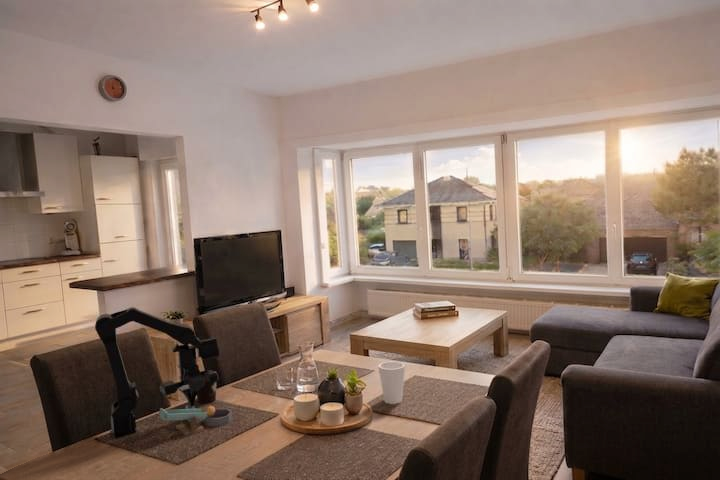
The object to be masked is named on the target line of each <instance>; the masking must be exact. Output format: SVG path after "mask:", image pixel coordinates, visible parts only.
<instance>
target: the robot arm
mask: <svg viewBox="0 0 720 480" xmlns="http://www.w3.org/2000/svg"><path fill="white" fill-rule="evenodd" d="M131 322H132V323H133V322H134V323H136V324H139V325H141V326H142V325H143V326H145V327H148V328H150V329H152V330H155V331H158V332H160V333H163V334H166V335H167V336H169V337H170V338H172V339H173V340H174V341H176V342H177V343H176V342H175V344H174V346H173V347H172V348H171V350H172V353H178V365H177V366H178V368H179V375H180V376H179V380H180V381H178V382H174V381H173V380H169V381H164V382H160V383H161V384H160V385H159V391H160V393H162V394H163V395H164V396H168V395H172V394H175V393H176V392H177V391H179V392H181V393H183V395H184V397H185V398H186V400H187V402H188V404H189V405H190V406H191V407H192V406H195V405H194V404H195V402H196V399H197V392H198V390H199V389H200V388H202V387H203V386H204V382H207V381H209V382H210V383H212V382H216V383H217V382H218V381H219V374H218V373H217V371H214V370H212V369H210V370H208V369H207V370H200V366H199V364H198V361H197V358H200V359H201V360H202V361H203V360H208V359H215V358H220V350H219V349H220V348H219V347H218V342H217V338H216V337H211V338H208V339H202V340H201V339H200V338H199V337H198V336H196V332H195V330H194V329H193V327H192V326H191V325H189V324H186V323H185V324H184V323H180V322H173V321H169V320H166V319H164V318H162V317H161V318H160V317H158V316H156V315H153V314H150V313H148V312H146V311H143V310H139V308H137V307H133V306H132V307H129V308H126V309H124V310H119V311H117V312H114V313H104V314H101V315H99V316H98V317H97V318H96V320H95V324H94V330H95V332H96V333H97V335H98V337H99V339H100V341H101V342H102V344H103V345H104V349H105V351H106V355H107V358H108V361H109V365H110V369H111V371H112V372H111V373H112V375H113V379H114V381H115V384H116V398H117V400H116V401H115V402H113V404H112V405H111V415H110V424H111V425H110V426H111V430H110V434H111V435H112V436H113V437H114V438H115V439H118V438H121V437H124V436H127V435H131V434H134V433H137V430H136V428H137V422H136V415H134V412H133V410H134V409H135V408H136V407H137V405H138V400H139V399H140V397H139V392H138V390H137V388H136V382H135V381H133V382H130V380H129V377H128V375H127V371H126V368H125V365H124V361H123V358H122V354H121V351H120V348H119V344H118V341H117V329H119V328H121V327H122V326H125V325H126V324H129V323H131ZM179 343H180V344H179Z"/></svg>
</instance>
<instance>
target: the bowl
mask: <svg viewBox="0 0 720 480" xmlns="http://www.w3.org/2000/svg"><path fill="white" fill-rule="evenodd" d="M202 420H203V424H204V425H206V426H207V427H221V426H223V425H226V424H229V423H230V422H231V421H232V420H233V411H232V410H231V409H229V408H215V413H214V415H212V416H208V415H207V417H206V419H202Z"/></svg>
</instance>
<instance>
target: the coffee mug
mask: <svg viewBox="0 0 720 480" xmlns="http://www.w3.org/2000/svg"><path fill="white" fill-rule="evenodd" d="M216 395H217V381H216V382H212V383H210V382H209V381H207V382H204V386H203V387H202V388H200V389H199V390H198V392H197V395H196V399H197V403H198V404H200V405H208V404H212V403H214V402H216V399H217V397H216Z"/></svg>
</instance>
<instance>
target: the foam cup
mask: <svg viewBox="0 0 720 480" xmlns="http://www.w3.org/2000/svg"><path fill="white" fill-rule="evenodd" d="M405 373H406V367H405V363H404V362H402V361H394V360H391V361H390V360H389V361H384V362H381V363H379V364H378V375H379V377H380V383H381V384H380V385H381V388H382V395H383V399H384V400H383V401H384V403H385V404H388V403H389V405H398V404H400V403H402V402H403V393H404V383H405V382H404V379H405ZM401 401H402V402H401ZM397 403H398V404H397Z"/></svg>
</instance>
